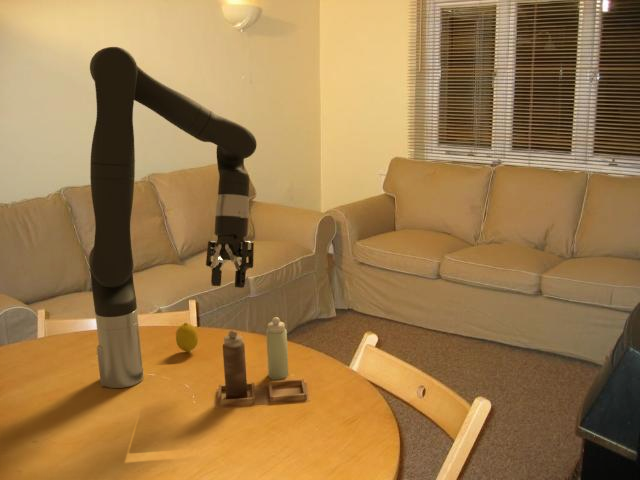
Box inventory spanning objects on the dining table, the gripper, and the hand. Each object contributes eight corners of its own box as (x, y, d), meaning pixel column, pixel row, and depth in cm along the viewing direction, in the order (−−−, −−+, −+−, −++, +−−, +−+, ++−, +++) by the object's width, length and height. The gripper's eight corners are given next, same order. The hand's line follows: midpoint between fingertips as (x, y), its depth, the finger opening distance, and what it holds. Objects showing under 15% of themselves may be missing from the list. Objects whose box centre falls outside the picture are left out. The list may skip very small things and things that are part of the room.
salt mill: (269, 384, 165) (265, 321, 161) (268, 376, 169) (265, 314, 166) (289, 383, 165) (286, 320, 162) (288, 374, 170) (285, 313, 166)
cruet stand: (215, 413, 152) (214, 402, 152) (216, 394, 161) (216, 384, 161) (310, 405, 154) (309, 395, 154) (306, 387, 163) (306, 377, 162)
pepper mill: (225, 402, 154) (221, 335, 151) (226, 392, 159) (221, 327, 155) (247, 400, 155) (243, 333, 151) (247, 391, 159) (243, 325, 156)
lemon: (201, 348, 187) (199, 319, 185) (196, 357, 182) (193, 326, 180) (180, 348, 187) (178, 318, 185) (174, 356, 182) (171, 326, 180)
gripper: (200, 215, 169) (195, 284, 168) (239, 213, 159) (234, 287, 158) (225, 218, 174) (221, 286, 173) (264, 216, 164) (260, 288, 163)
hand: (227, 286), depth 165 cm, fingers open, 8 cm apart
